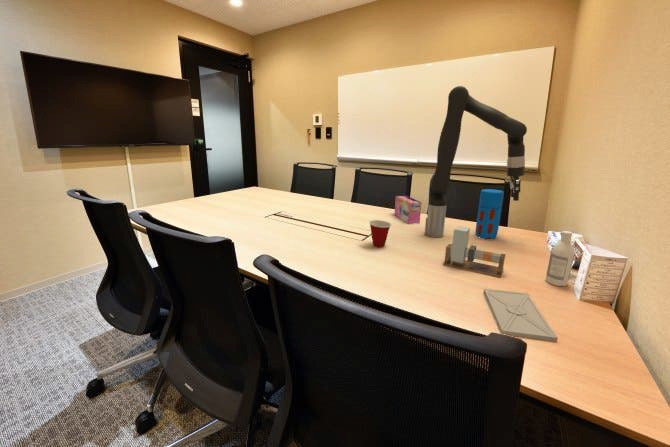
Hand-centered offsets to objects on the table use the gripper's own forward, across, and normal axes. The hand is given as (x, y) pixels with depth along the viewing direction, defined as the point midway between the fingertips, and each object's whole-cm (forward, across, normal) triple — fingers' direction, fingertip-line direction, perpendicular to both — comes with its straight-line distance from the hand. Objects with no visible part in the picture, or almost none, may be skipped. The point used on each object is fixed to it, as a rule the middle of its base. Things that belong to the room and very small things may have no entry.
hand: (514, 198), depth 154 cm
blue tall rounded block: (+22, -5, -12) cm, 26 cm away
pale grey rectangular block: (+17, +40, -26) cm, 51 cm away
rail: (+20, +41, -20) cm, 50 cm away
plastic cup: (+15, +30, -63) cm, 71 cm away
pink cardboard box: (+17, -26, -58) cm, 65 cm away
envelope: (+22, +74, -9) cm, 78 cm away
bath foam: (+24, +44, +8) cm, 51 cm away
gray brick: (+17, +41, -21) cm, 49 cm away
